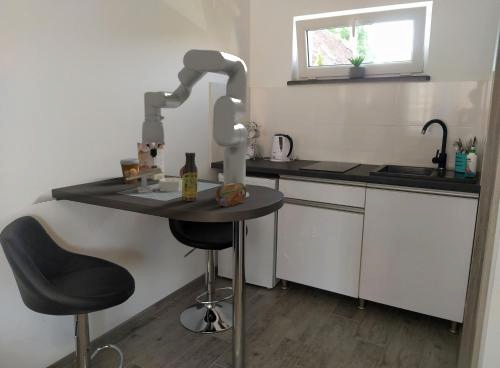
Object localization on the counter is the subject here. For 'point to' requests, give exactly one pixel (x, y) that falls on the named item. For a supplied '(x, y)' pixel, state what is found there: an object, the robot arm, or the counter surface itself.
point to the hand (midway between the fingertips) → (153, 157)
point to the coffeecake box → (150, 160)
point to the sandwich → (230, 194)
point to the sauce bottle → (189, 178)
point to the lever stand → (144, 185)
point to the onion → (182, 171)
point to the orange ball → (132, 171)
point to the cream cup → (170, 184)
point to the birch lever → (143, 172)
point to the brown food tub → (127, 165)
